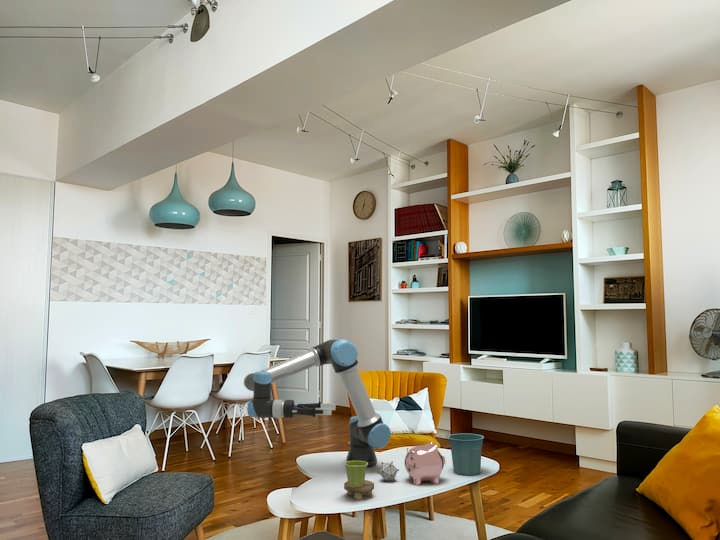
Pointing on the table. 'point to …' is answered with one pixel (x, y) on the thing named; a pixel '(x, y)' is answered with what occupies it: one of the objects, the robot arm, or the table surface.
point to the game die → (388, 471)
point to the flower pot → (466, 453)
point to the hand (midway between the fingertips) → (333, 409)
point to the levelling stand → (359, 489)
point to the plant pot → (356, 473)
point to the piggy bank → (424, 463)
